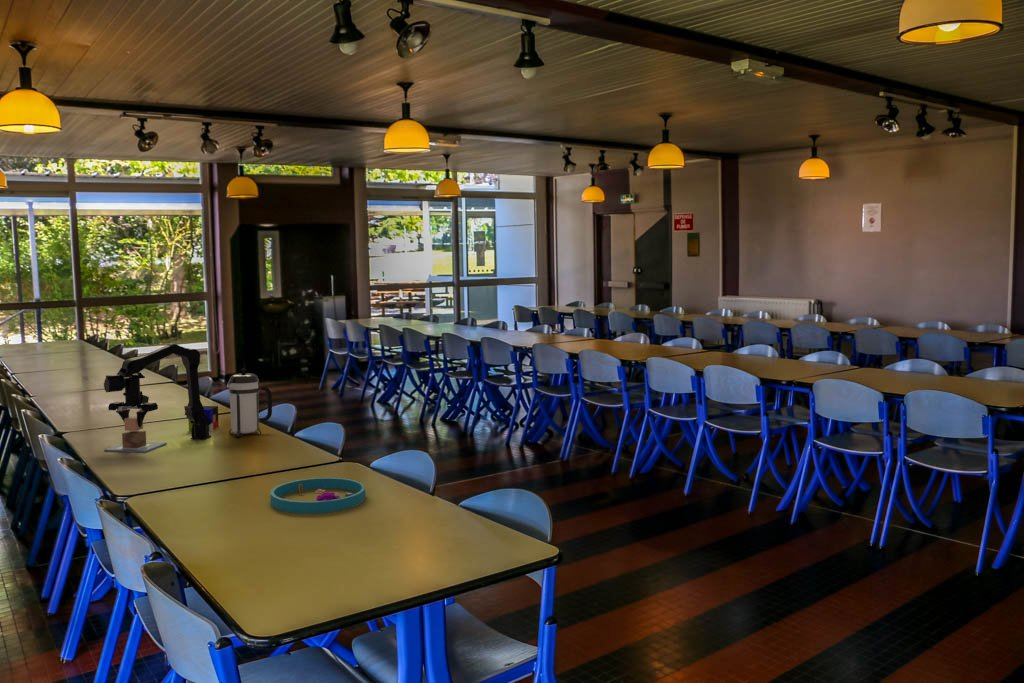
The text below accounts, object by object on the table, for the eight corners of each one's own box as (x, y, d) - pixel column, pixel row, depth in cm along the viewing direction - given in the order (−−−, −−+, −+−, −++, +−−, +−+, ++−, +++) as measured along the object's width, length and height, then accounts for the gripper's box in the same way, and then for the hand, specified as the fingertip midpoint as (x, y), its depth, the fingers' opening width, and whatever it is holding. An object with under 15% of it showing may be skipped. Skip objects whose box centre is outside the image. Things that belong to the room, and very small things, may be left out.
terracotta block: (143, 428, 345) (142, 416, 344) (136, 430, 340) (135, 418, 339) (131, 428, 345) (131, 416, 345) (124, 430, 340) (124, 418, 340)
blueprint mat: (166, 444, 351) (166, 442, 351) (145, 452, 335) (145, 450, 335) (127, 443, 353) (126, 441, 353) (104, 451, 337) (104, 449, 337)
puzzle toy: (210, 431, 380) (209, 409, 379) (188, 431, 380) (188, 409, 379) (218, 427, 390) (218, 406, 389) (197, 426, 390) (196, 405, 389)
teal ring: (291, 520, 248) (290, 501, 248) (257, 497, 273) (256, 480, 272) (381, 504, 266) (381, 486, 265) (342, 484, 290) (341, 467, 290)
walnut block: (146, 444, 346) (145, 430, 346) (137, 448, 340) (136, 433, 339) (131, 444, 347) (131, 430, 346) (122, 447, 340) (122, 433, 340)
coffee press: (254, 438, 364) (252, 370, 361) (221, 436, 367) (219, 369, 364) (273, 430, 381) (271, 366, 378) (241, 429, 384) (239, 365, 381)
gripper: (164, 387, 348) (165, 424, 349) (122, 386, 350) (124, 422, 352) (149, 391, 337) (151, 429, 338) (106, 390, 339) (108, 427, 341)
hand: (133, 427), depth 342 cm, fingers closed on terracotta block, 5 cm apart
